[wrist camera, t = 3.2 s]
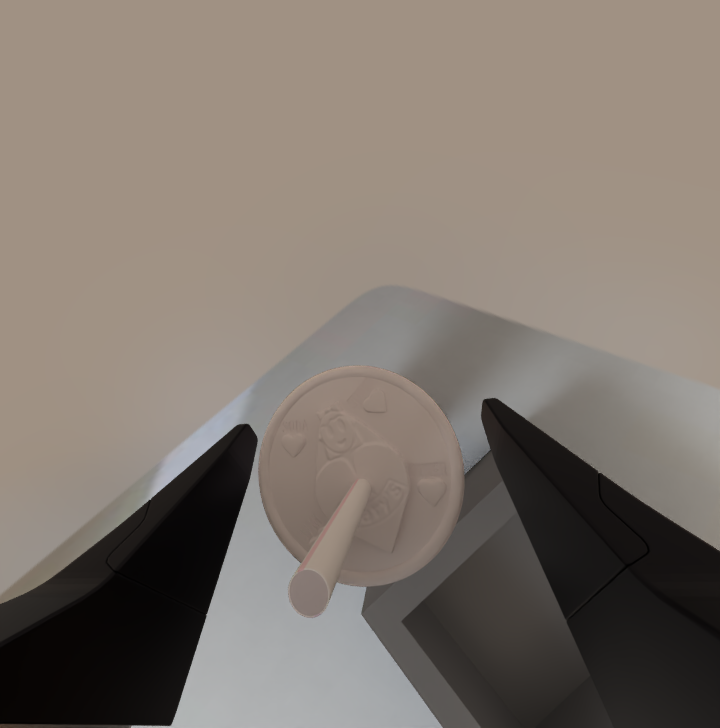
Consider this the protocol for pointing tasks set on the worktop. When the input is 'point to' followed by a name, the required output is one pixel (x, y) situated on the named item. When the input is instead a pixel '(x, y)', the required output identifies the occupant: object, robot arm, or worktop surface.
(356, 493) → the smoothie
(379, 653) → the worktop surface
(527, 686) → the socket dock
